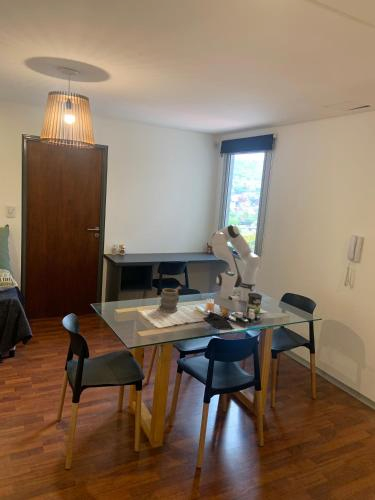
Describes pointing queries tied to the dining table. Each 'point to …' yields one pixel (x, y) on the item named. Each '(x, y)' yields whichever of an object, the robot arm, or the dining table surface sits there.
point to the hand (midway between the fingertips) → (224, 313)
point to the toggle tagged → (251, 315)
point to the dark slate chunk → (218, 321)
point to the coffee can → (253, 303)
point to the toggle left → (239, 314)
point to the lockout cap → (224, 312)
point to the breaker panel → (243, 319)
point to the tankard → (169, 300)
